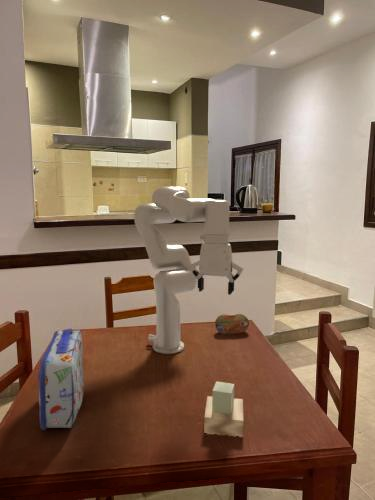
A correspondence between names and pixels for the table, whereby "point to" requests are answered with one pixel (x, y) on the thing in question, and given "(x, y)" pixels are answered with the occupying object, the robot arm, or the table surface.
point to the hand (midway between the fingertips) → (215, 292)
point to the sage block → (223, 397)
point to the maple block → (224, 420)
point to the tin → (231, 323)
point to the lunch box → (61, 380)
